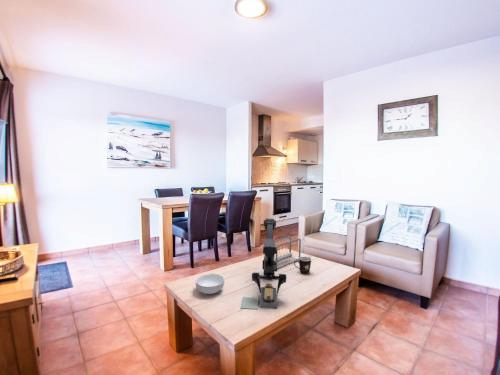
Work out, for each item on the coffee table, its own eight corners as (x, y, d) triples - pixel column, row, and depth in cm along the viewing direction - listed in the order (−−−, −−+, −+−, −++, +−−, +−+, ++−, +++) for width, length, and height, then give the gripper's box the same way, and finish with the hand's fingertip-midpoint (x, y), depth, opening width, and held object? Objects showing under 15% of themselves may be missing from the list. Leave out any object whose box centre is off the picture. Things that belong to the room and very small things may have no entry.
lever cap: (264, 302, 135) (264, 286, 134) (272, 303, 135) (273, 286, 134) (264, 305, 132) (264, 288, 131) (272, 306, 132) (273, 289, 131)
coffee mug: (310, 270, 179) (311, 257, 178) (310, 275, 170) (311, 261, 169) (294, 269, 181) (294, 255, 181) (293, 273, 173) (294, 259, 172)
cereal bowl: (193, 286, 152) (193, 275, 151) (220, 282, 158) (220, 271, 157) (198, 300, 136) (198, 288, 136) (227, 295, 142) (227, 283, 142)
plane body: (260, 291, 148) (261, 282, 147) (276, 291, 147) (276, 282, 147) (259, 307, 131) (260, 297, 130) (277, 308, 130) (277, 298, 129)
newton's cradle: (289, 256, 208) (290, 235, 206) (300, 259, 200) (301, 238, 199) (265, 265, 187) (266, 242, 185) (276, 270, 179) (276, 245, 178)
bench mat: (242, 297, 140) (242, 296, 140) (258, 298, 140) (258, 297, 140) (240, 308, 129) (240, 307, 129) (257, 309, 129) (257, 308, 129)
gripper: (252, 258, 136) (250, 287, 126) (286, 260, 135) (287, 289, 125) (253, 266, 145) (251, 294, 135) (285, 268, 144) (286, 296, 133)
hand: (268, 293), depth 132 cm, fingers open, 9 cm apart
